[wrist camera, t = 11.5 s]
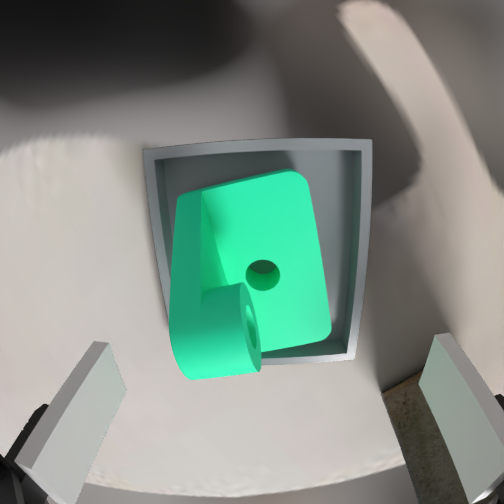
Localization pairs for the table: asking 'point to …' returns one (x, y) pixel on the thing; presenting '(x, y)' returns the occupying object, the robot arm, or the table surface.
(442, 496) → the vintage camera
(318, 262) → the camera mount
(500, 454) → the robot arm
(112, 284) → the table surface
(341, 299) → the tray
